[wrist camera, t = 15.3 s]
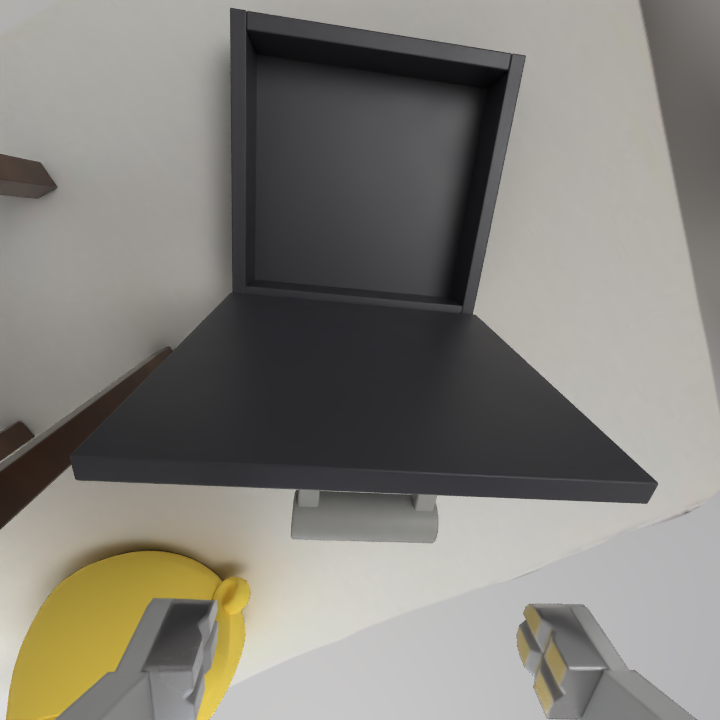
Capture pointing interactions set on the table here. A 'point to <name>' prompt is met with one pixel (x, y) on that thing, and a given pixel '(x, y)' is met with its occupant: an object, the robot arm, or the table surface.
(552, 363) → the table surface
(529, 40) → the table surface
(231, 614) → the teapot
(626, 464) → the lid
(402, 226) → the hinged lid box
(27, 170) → the shelf legs
